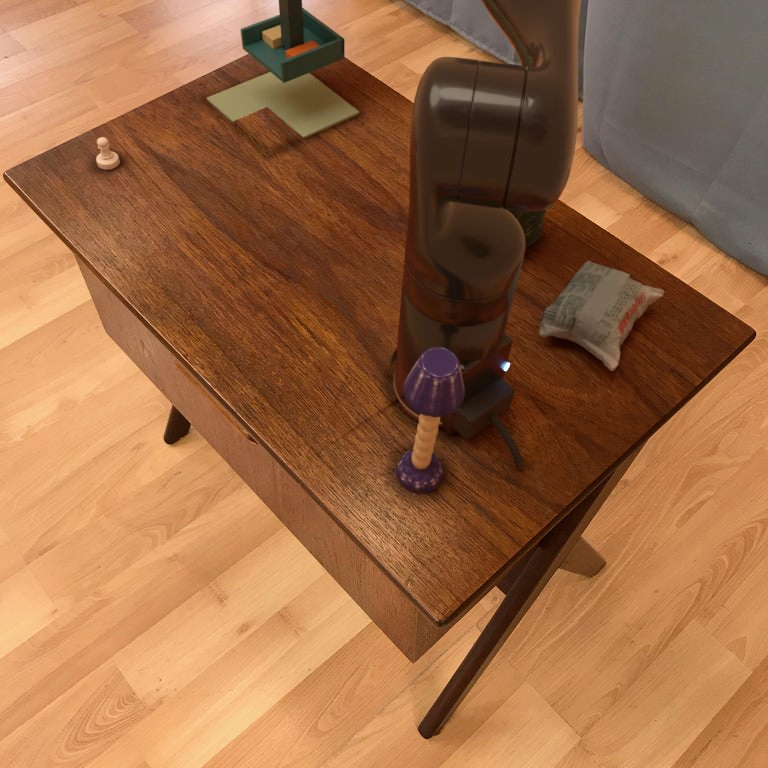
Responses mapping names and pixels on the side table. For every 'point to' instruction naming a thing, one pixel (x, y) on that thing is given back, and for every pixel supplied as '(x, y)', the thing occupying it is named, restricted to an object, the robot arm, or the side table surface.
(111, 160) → the chess pawn
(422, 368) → the toy lamp
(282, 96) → the mat
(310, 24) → the tray with upright handle
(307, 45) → the block
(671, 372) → the side table surface
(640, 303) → the packaged food
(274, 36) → the block
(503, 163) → the robot arm
